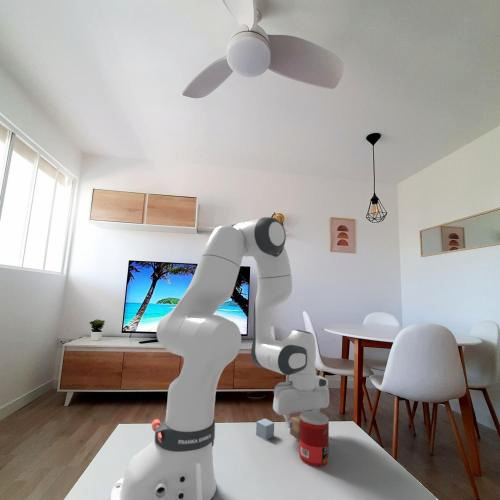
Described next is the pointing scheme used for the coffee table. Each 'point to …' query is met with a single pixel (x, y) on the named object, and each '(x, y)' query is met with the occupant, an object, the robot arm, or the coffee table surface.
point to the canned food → (314, 438)
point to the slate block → (265, 429)
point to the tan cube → (295, 427)
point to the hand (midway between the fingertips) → (301, 424)
